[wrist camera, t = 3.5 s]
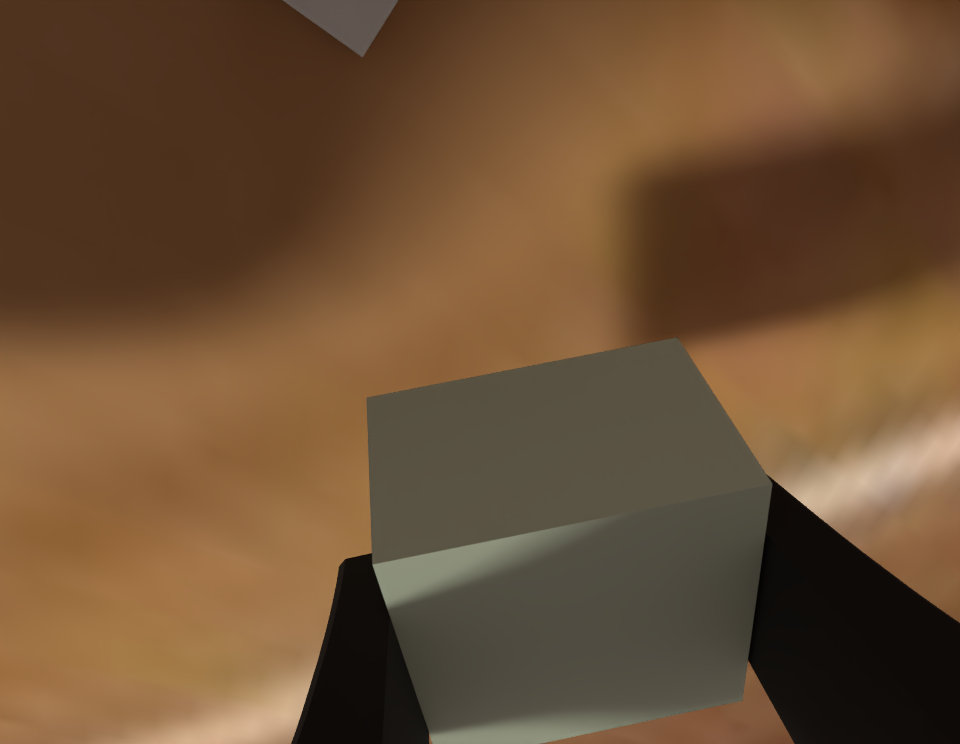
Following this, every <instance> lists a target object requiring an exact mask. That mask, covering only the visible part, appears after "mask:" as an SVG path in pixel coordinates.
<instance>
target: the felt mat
mask: <svg viewBox="0 0 960 744" xmlns="http://www.w3.org/2000/svg"><path fill="white" fill-rule="evenodd" d="M283 1H284V2H285V3H287V4H288V5H290V6H291V7H292V8H294V9H295V10H297V11H298V12H299V13H301V14H302V15H304V16H305V17H306V18H308V19H309V20H311V21H312V22H313V23H315V24H316V25H318V26H319V27H320V28H322V29H323V30H325V31H326V32H328V33H329V34H330V35H332V36H333V37H335V38H336V39H337V40H339V41H340V42H342V43H343V44H344V45H346V46H347V47H349V48H350V49H351V50H353V51H354V52H356V53H357V54H358V55H360V56H361V57H363V56H364V55H365V53H366V51H367V50H368V48H369V47H370V45H371V43H372V42H373V40H374V39H375V37H376V35H377V34H378V32H379V31H380V29H381V27H382V26H383V24H384V23H385V21H386V19H387V18H388V16H389V15H390V13H391V11H392V10H393V8H394V7H395V5H396V3H397V2H398V0H283Z"/></svg>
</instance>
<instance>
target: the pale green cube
mask: <svg viewBox="0 0 960 744" xmlns="http://www.w3.org/2000/svg"><path fill="white" fill-rule="evenodd" d="M367 423H368V452H369V481H370V510H371V538H372V565H373V568H374V571H375V574H376V577H377V580H378V583H379V586H380V589H381V592H382V595H383V597H384V600H385V603H386V606H387V609H388V612H389V615H390V618H391V621H392V624H393V627H394V630H395V633H396V636H397V639H398V642H399V645H400V648H401V651H402V654H403V657H404V659H405V662H406V665H407V668H408V671H409V674H410V677H411V680H412V683H413V686H414V689H415V692H416V695H417V698H418V701H419V704H420V707H421V710H422V713H423V716H424V719H425V722H426V725H427V728H428V731H429V734H430V737H431V740H432V742H433V744H541V743H545V742H550V741H555V740H560V739H564V738H569V737H574V736H578V735H583V734H588V733H592V732H597V731H602V730H607V729H611V728H616V727H621V726H625V725H630V724H635V723H640V722H644V721H649V720H654V719H658V718H663V717H668V716H672V715H677V714H682V713H687V712H691V711H696V710H701V709H705V708H710V707H715V706H720V705H724V704H729V703H734V702H738V701H742V699H743V692H744V685H745V678H746V671H747V663H748V656H749V649H750V642H751V634H752V627H753V620H754V613H755V606H756V598H757V591H758V584H759V577H760V570H761V562H762V555H763V548H764V541H765V533H766V526H767V519H768V512H769V505H770V497H771V490H772V482H771V481H770V479H769V478H768V476H767V475H766V473H765V472H764V470H763V469H762V467H761V465H760V464H759V462H758V461H757V459H756V458H755V456H754V455H753V453H752V452H751V450H750V448H749V447H748V445H747V444H746V442H745V441H744V439H743V438H742V436H741V435H740V433H739V432H738V430H737V428H736V427H735V425H734V424H733V422H732V421H731V419H730V418H729V416H728V415H727V413H726V411H725V410H724V408H723V407H722V405H721V404H720V402H719V401H718V399H717V398H716V396H715V395H714V393H713V391H712V390H711V388H710V387H709V385H708V384H707V382H706V381H705V379H704V378H703V376H702V374H701V373H700V371H699V370H698V368H697V367H696V365H695V364H694V362H693V361H692V359H691V358H690V356H689V354H688V353H687V351H686V350H685V348H684V347H683V345H682V344H681V342H680V341H679V339H678V337H677V338H671V339H666V340H661V341H656V342H651V343H646V344H640V345H635V346H630V347H625V348H620V349H615V350H610V351H604V352H599V353H594V354H589V355H584V356H579V357H573V358H568V359H563V360H558V361H553V362H548V363H543V364H537V365H532V366H527V367H522V368H517V369H512V370H507V371H501V372H496V373H491V374H486V375H481V376H476V377H470V378H465V379H460V380H455V381H450V382H445V383H440V384H434V385H429V386H424V387H419V388H414V389H409V390H404V391H398V392H393V393H388V394H383V395H378V396H373V397H367Z"/></svg>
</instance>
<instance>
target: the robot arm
mask: <svg viewBox="0 0 960 744" xmlns="http://www.w3.org/2000/svg"><path fill="white" fill-rule="evenodd" d="M766 475H767V474H766ZM767 476H768V475H767ZM768 478H769V479H770V481H771V482H772V490H771V497H770V505H769V512H768V519H767V526H766V533H765V541H764V548H763V555H762V562H761V570H760V577H759V584H758V591H757V598H756V606H755V613H754V620H753V627H752V634H751V642H750V649H749V656H748V661H749V662H750V664H751V666H752V668H753V670H754V672H755V673H756V675H757V677H758V679H759V681H760V682H761V684H762V686H763V688H764V690H765V691H766V693H767V695H768V697H769V699H770V700H771V702H772V704H773V706H774V708H775V709H776V711H777V713H778V715H779V716H780V718H781V720H782V722H783V724H784V725H785V727H786V729H787V731H788V733H789V734H790V736H791V738H792V740H793V741H794V743H795V744H960V623H959V622H958V621H956V620H955V619H953V618H952V617H950V616H949V615H948V614H946V613H945V612H943V611H942V610H940V609H939V608H937V607H936V606H935V605H933V604H932V603H930V602H929V601H928V600H926V599H925V598H924V597H922V596H921V595H919V594H918V593H917V592H915V591H914V590H912V589H911V588H910V587H908V586H907V585H906V584H904V583H903V582H902V581H900V580H899V579H898V578H896V577H895V576H894V575H892V574H891V573H890V572H888V571H887V570H886V569H884V568H883V567H882V566H880V565H879V564H878V563H876V562H875V561H874V560H872V559H871V558H870V557H869V556H867V555H866V554H865V553H863V552H862V551H861V550H859V549H858V548H857V547H856V546H854V545H853V544H852V543H850V542H849V541H848V540H847V539H845V538H844V537H843V536H842V535H840V534H839V533H838V532H837V531H835V530H834V529H833V528H832V527H830V526H829V525H828V524H827V523H825V522H824V521H823V520H822V519H820V518H819V517H818V516H817V515H815V514H814V513H813V512H812V511H811V510H809V509H808V508H807V507H806V506H804V505H803V504H802V503H801V502H800V501H798V500H797V499H796V498H795V497H794V496H792V495H791V494H790V493H789V492H787V491H786V490H785V489H784V488H783V487H781V486H780V485H779V484H778V483H777V482H775V481H774V480H773V479H772V478H770V477H769V476H768ZM291 744H429V731H428V728H427V725H426V722H425V719H424V716H423V713H422V710H421V707H420V704H419V701H418V698H417V695H416V692H415V689H414V686H413V683H412V680H411V677H410V674H409V671H408V668H407V665H406V662H405V659H404V657H403V654H402V651H401V648H400V645H399V642H398V639H397V636H396V633H395V630H394V627H393V624H392V621H391V618H390V615H389V612H388V609H387V606H386V603H385V600H384V597H383V595H382V592H381V589H380V586H379V583H378V580H377V577H376V574H375V571H374V568H373V565H372V553H370V554H366V555H361V556H357V557H352V558H348V559H345V560H344V561H343V563H342V564H341V565H340V566H339V571H338V577H337V583H336V589H335V593H334V598H333V603H332V608H331V612H330V616H329V620H328V624H327V629H326V632H325V636H324V640H323V644H322V647H321V651H320V655H319V658H318V662H317V665H316V668H315V672H314V675H313V678H312V681H311V685H310V688H309V691H308V694H307V698H306V701H305V704H304V707H303V711H302V714H301V717H300V720H299V723H298V726H297V729H296V732H295V735H294V737H293V740H292V743H291Z"/></svg>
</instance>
